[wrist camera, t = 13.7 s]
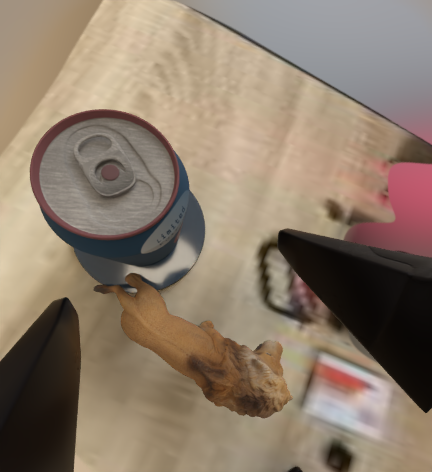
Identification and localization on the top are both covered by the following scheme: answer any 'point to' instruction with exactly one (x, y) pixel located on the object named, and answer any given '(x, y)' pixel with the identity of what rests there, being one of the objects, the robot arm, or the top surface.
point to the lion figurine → (205, 353)
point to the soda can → (111, 186)
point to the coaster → (157, 272)
